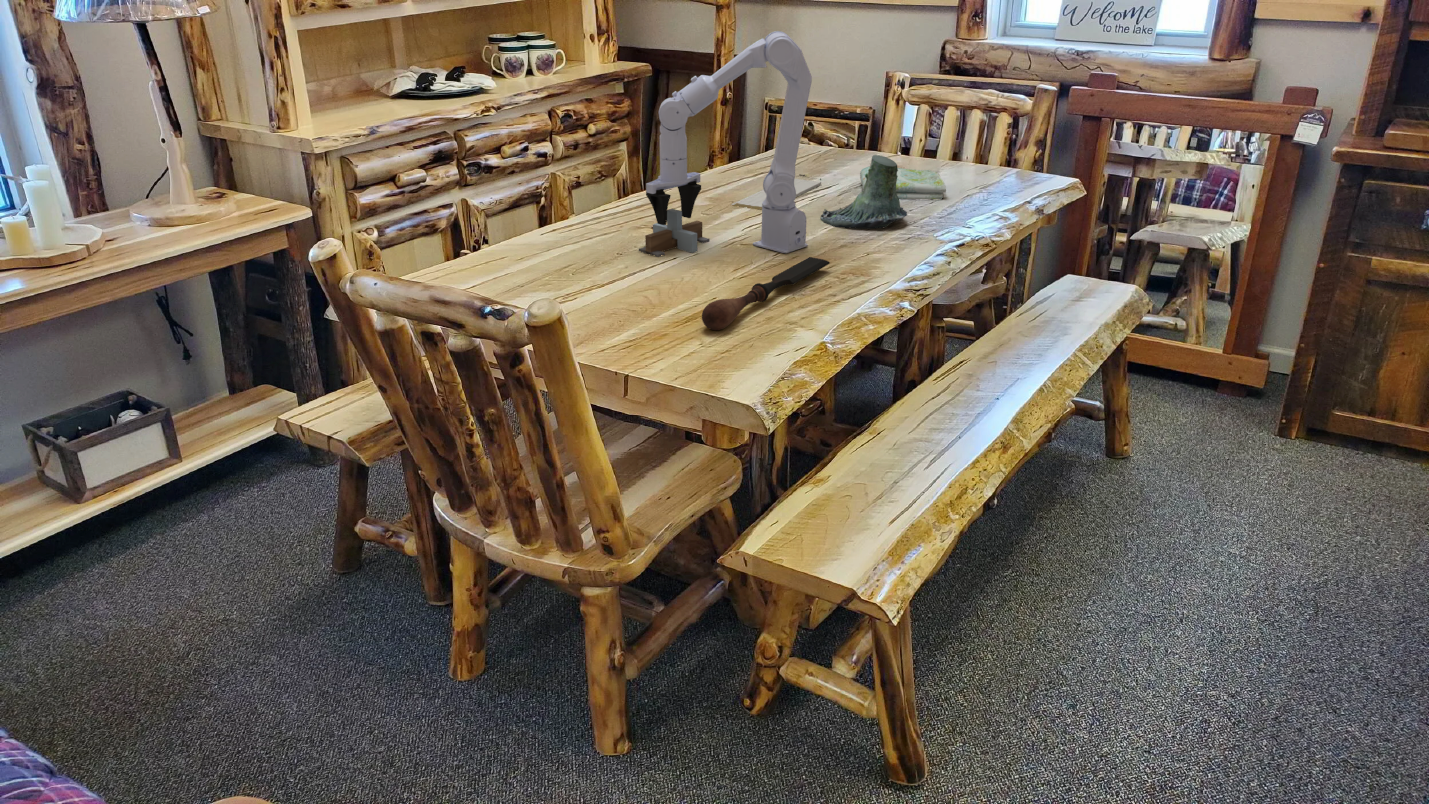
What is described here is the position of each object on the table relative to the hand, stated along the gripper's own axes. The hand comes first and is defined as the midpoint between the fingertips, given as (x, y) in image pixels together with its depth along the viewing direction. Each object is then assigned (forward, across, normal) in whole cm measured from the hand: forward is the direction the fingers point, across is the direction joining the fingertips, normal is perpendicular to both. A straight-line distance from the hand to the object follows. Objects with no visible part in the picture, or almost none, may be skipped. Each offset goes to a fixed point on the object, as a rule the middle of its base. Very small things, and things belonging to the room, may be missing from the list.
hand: (674, 220), depth 221 cm
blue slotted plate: (+6, 0, 0) cm, 6 cm away
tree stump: (+6, -46, +18) cm, 50 cm away
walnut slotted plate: (+6, 0, 0) cm, 6 cm away
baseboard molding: (+7, -51, -14) cm, 53 cm away
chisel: (+6, +12, +37) cm, 39 cm away
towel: (+6, -77, +8) cm, 77 cm away
